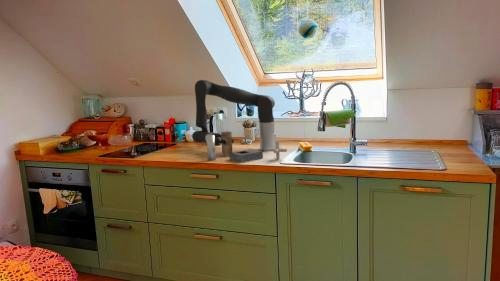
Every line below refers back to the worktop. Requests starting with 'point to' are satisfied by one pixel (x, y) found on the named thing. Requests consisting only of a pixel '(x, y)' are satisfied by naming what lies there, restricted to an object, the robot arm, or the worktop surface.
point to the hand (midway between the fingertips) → (229, 141)
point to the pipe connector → (277, 150)
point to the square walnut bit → (228, 146)
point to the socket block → (246, 155)
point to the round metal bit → (211, 147)
